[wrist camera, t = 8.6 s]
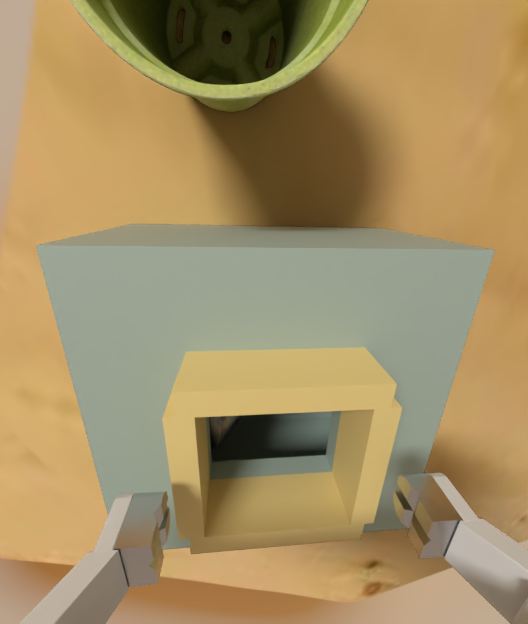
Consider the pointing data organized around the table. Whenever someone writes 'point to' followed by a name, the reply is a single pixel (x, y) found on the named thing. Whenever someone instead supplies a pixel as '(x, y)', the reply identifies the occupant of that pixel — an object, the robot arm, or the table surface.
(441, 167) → the table surface
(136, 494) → the robot arm
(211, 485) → the box with square opening
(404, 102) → the table surface
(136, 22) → the plant pot
